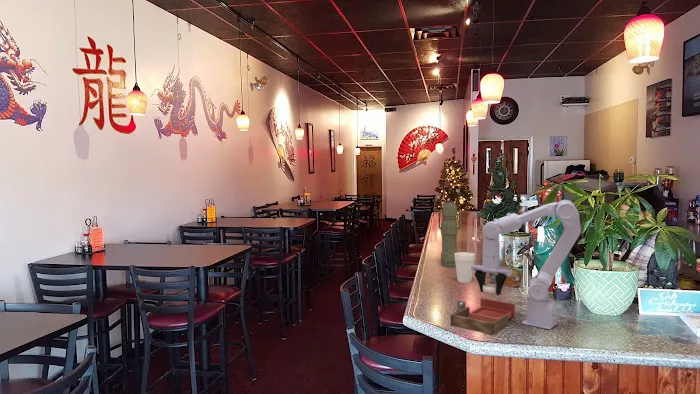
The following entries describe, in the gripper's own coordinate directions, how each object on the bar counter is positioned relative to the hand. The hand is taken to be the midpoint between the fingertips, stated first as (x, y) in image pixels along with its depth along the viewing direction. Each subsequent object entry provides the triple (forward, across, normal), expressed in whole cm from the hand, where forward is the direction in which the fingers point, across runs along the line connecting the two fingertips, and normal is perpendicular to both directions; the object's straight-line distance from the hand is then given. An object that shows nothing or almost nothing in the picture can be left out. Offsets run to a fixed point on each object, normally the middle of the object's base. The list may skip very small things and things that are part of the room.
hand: (490, 293), depth 173 cm
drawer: (+9, 0, 0) cm, 9 cm away
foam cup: (+10, +33, -45) cm, 57 cm away
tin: (+10, +15, -50) cm, 53 cm away
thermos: (+10, +56, -72) cm, 92 cm away
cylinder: (+9, +12, -1) cm, 15 cm away
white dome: (-1, 0, 0) cm, 1 cm away
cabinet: (+9, 0, +8) cm, 12 cm away
